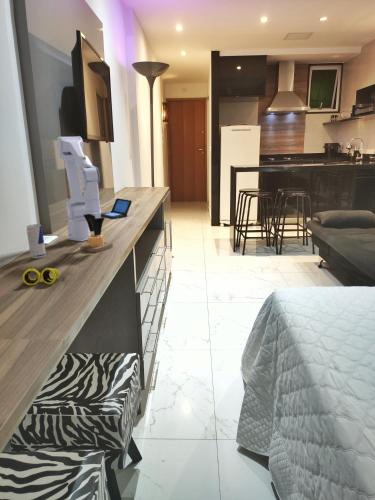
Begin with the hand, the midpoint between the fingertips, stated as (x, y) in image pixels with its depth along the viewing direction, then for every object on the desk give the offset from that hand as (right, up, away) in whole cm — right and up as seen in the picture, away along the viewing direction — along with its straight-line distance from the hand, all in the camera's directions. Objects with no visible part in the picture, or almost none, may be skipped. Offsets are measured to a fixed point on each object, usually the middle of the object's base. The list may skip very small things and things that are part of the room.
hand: (95, 233), depth 145 cm
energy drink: (-20, -9, -7) cm, 23 cm away
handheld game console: (-5, +13, +69) cm, 70 cm away
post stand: (0, -6, +2) cm, 6 cm away
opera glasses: (-8, -17, -33) cm, 38 cm away
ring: (0, -5, +1) cm, 5 cm away
